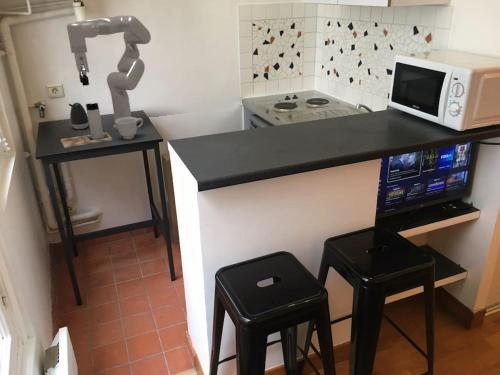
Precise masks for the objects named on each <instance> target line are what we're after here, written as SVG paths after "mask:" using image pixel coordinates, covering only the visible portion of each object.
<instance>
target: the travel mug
mask: <svg viewBox="0 0 500 375" xmlns="http://www.w3.org/2000/svg"><path fill="white" fill-rule="evenodd" d="M85 108H86V109H85V110H86V113H87V116H88V120H89V124H88V126H89V131H90V135H91V136H92V137H91V141H92V140H98V139H104V138H105V135H103V133H104V131H103V130H104V129H103V125H102V119H101V113H100V112H101V111H100V108H99V103H98V102H94V103H86V104H85Z"/></svg>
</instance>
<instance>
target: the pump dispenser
mask: <svg viewBox="0 0 500 375" xmlns="http://www.w3.org/2000/svg"><path fill="white" fill-rule="evenodd" d="M68 106H70V107H71V108H70V114H69V120H70V124H71V126H72V127H73V128H74V129H75V130H84V129H86V128H87V127H88V126H89V120H88V115H87V110H86V109H85V107H84V106H83V105H82V104H81V103H80V102H74V103H73V104H72V103H68Z"/></svg>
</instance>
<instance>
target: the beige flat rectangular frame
mask: <svg viewBox="0 0 500 375" xmlns="http://www.w3.org/2000/svg"><path fill="white" fill-rule="evenodd" d="M103 135H104V136H105V137H104V139H98V140H92V139H91V140H90V138H92V136H91V134H85V135H81V136H75V137H74V136H73V137H69V138H68V137H67V138H61V139H60V142H61V145H62V147H63V148H64V149H68V148H72V147H80V146H84V145H92V144H96V143H102V142H103V143H104V142H108V141H113V137H112V136H111V135H110V134H109V133H108V132H107V131H105V132H104V131H103Z"/></svg>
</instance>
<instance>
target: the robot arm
mask: <svg viewBox="0 0 500 375" xmlns="http://www.w3.org/2000/svg"><path fill="white" fill-rule="evenodd" d="M66 30H67V35H68V42H69V45H70V47H69V48H70V52H71V53H72V54H73V55H74V60H75V66H76V70H77V72H78V76H79V77H78V78H79V82H80V83H81V84H82V86H83V87H84V86H89V85H90V82H89V81H90V80H89V77H88V73H90V69H89V62H88V58H87V54H86V53H88V48H87V42H86V38H88V39H89V38H90V39H93V38H96V37H97V36H99V35H100V36H109V35H113V34H118V33H119V34H120V33H122V34H123V36H122V37H123V42H124V45H125V48H124V53H123V54H122V56H121V57H120V59H119V61H118V63H117V68H116V69H117V71H113V72H110V73H109V74H108V75H107V76H106V83H107V86H108V87H107V88H109V92H110V93H109V94H110V96H111V97H110V98H111V104H112V109H113V115H114V124H113V125H112V126H113V129H116V130H118V126H117V124H116V122H115V120H116V119H119V118H123V117H132V112H131V106H130V105H131V104H130V98H129V93H128V91H133V90H135V89H136V88H137V86H138V85H139V83H140V81H141V79H142V77H143V75H144V73H145V68H146V66H145V63H144V61H143V60H142V59H141V58H140V50H139V48H138V45H148V44H149V43H151V39H152V38H151V37H152V36H151V33H150V31H149V29H148V28H147V27H146V26H145V25H144V24H143V22H141V21H140V20H139V19H138V18H137V17H135V15H116V16H108V17H101V18H95V19H89V20H81V21H80V20H79V21H75V22H72V23H67V25H66ZM136 118H137V117H136ZM138 118H139V117H138ZM138 118H137V119H138ZM139 122H141V120H139Z"/></svg>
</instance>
